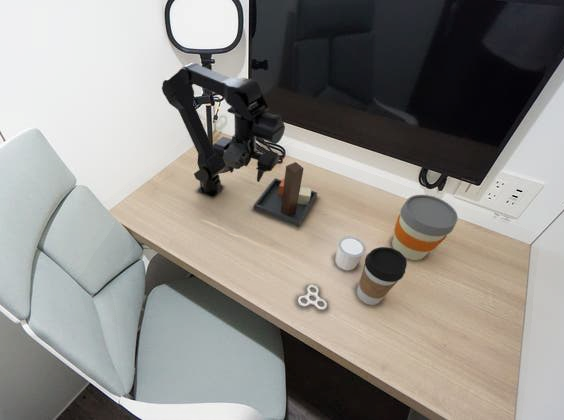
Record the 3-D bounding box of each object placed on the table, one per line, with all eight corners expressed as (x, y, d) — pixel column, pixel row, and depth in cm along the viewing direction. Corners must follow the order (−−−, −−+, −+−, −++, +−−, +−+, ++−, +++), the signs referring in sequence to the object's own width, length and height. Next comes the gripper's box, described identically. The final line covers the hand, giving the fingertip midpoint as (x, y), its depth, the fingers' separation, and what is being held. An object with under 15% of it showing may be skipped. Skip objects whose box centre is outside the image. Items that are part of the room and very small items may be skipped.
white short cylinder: (341, 248, 90) (347, 232, 85) (363, 261, 87) (370, 245, 82) (328, 262, 87) (333, 246, 82) (350, 276, 84) (357, 261, 79)
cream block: (296, 203, 103) (297, 194, 100) (297, 195, 106) (299, 186, 103) (308, 205, 102) (310, 196, 100) (309, 197, 105) (311, 188, 102)
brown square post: (280, 211, 101) (286, 165, 88) (289, 207, 102) (295, 161, 90) (287, 217, 99) (293, 172, 86) (296, 213, 100) (303, 168, 87)
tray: (253, 210, 102) (253, 204, 100) (274, 183, 112) (274, 178, 110) (298, 228, 96) (299, 222, 94) (316, 198, 106) (317, 192, 104)
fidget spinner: (297, 305, 78) (297, 304, 77) (299, 283, 82) (299, 282, 82) (326, 311, 77) (327, 309, 76) (326, 288, 81) (327, 286, 80)
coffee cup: (391, 309, 77) (415, 275, 66) (356, 309, 77) (374, 275, 66) (380, 280, 83) (400, 244, 72) (347, 280, 83) (363, 244, 72)
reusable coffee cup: (436, 241, 91) (461, 204, 81) (428, 272, 84) (455, 236, 73) (391, 225, 96) (409, 188, 86) (380, 253, 89) (399, 216, 78)
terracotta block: (278, 194, 107) (279, 185, 104) (282, 187, 109) (283, 178, 106) (289, 197, 105) (290, 188, 102) (293, 190, 108) (294, 181, 105)
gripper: (199, 135, 82) (204, 181, 93) (262, 155, 75) (260, 203, 86) (221, 117, 89) (224, 162, 100) (282, 134, 82) (277, 180, 93)
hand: (245, 176), depth 94 cm, fingers open, 9 cm apart
